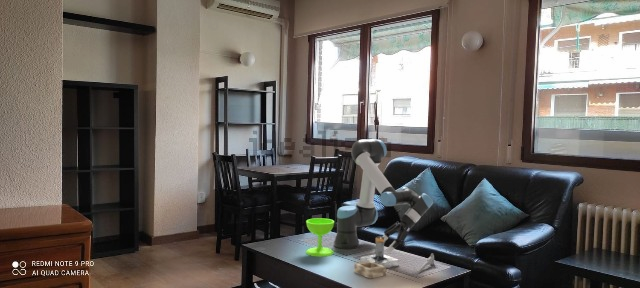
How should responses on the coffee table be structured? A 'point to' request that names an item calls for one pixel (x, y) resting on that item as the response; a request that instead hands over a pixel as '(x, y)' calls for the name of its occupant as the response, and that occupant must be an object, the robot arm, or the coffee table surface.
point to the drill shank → (379, 248)
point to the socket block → (386, 262)
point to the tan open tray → (370, 269)
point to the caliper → (426, 263)
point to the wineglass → (320, 235)
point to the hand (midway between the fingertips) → (383, 248)
